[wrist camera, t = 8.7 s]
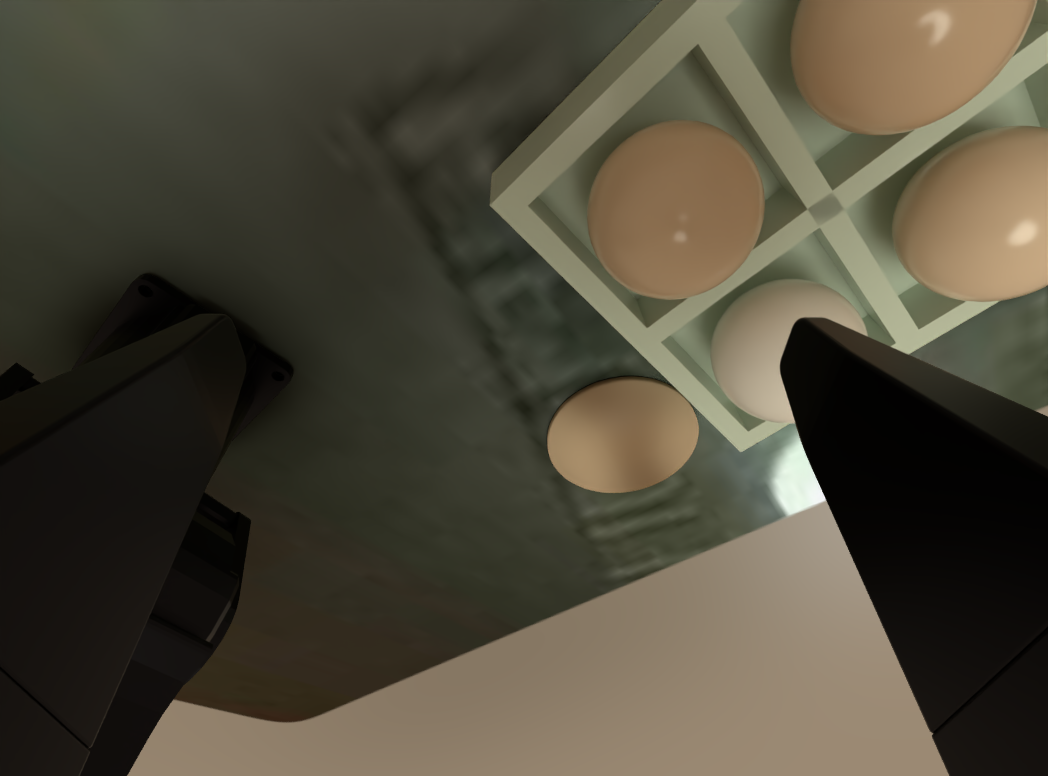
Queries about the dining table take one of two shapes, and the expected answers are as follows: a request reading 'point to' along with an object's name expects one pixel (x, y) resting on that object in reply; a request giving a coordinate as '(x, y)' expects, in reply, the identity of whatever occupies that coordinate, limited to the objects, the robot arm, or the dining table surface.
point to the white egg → (769, 341)
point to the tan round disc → (622, 434)
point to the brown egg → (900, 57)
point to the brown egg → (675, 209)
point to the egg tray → (786, 171)
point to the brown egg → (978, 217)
